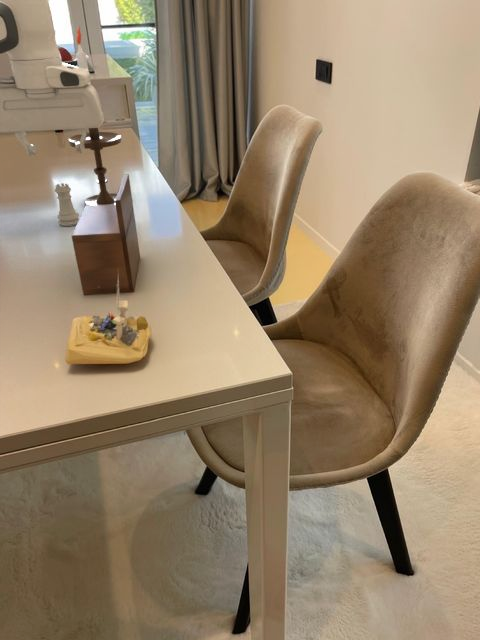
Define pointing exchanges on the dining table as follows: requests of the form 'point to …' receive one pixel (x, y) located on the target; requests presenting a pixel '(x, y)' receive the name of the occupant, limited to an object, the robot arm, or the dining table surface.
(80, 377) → the dining table surface
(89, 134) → the candlestick
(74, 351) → the cake
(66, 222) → the rook chess piece
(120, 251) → the wooden box with backrest
